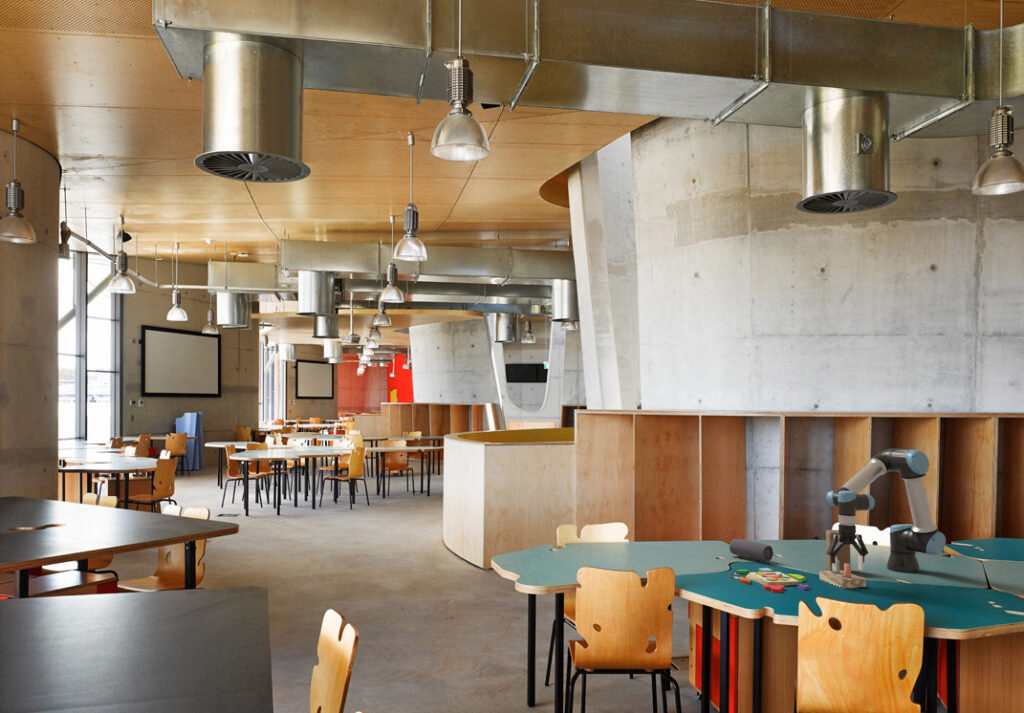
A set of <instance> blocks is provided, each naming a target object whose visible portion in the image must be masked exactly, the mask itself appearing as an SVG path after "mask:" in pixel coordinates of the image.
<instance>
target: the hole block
mask: <svg viewBox="0 0 1024 713" xmlns="http://www.w3.org/2000/svg"><path fill="white" fill-rule="evenodd" d="M818 577H819V580H820V581H823V582H825V583H827V582H828V583H827V584H829V585H832V584H833V586H835V585H836V586H835V587H837V586H839V587H838V588H840V587H842V588H843V589H859V588H858V587H866V581H867V580H866V578H864V577H861V576H858V575H855V574H853V573H851V578H844V571H842V570H840V574H833V571H829V570H820V571H819V576H818ZM842 588H841V589H842Z"/></svg>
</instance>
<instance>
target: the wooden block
mask: <svg viewBox="0 0 1024 713" xmlns="http://www.w3.org/2000/svg"><path fill="white" fill-rule="evenodd" d="M833 534H834V535H839V529H836V530H835V529H826V530H825V564H826V565H825V566H826V569H827V571H833V570H832V563H831V556H830V555H828V554H827V551H828V548H829V546H830V544H831V541H832V539H833ZM839 540H840V539H838V541H839ZM838 541H837V544H838ZM841 543H842V542H841ZM837 544H836V545H837ZM836 557H837V560H839V566H840V570H842V571H844V564H851V544H847V545H845V544H844V546H842V547H841V549H840V550H839V552H838V553H837V554H836Z"/></svg>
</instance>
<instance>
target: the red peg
mask: <svg viewBox="0 0 1024 713" xmlns="http://www.w3.org/2000/svg"><path fill="white" fill-rule="evenodd" d="M851 574H852V564H851V563H850V564H844V578H851Z"/></svg>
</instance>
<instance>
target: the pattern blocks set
mask: <svg viewBox="0 0 1024 713" xmlns="http://www.w3.org/2000/svg"><path fill="white" fill-rule="evenodd" d="M735 574H736V575H741V576H739V578H738V579H739V583H740V584H744V585H751V581H754V582H756V583H759V584H761V585H763V586H762V589H763V590H764V591H769V592H772V593H775V594H779V593H783V592H784V591H785V587H786V586H787V587H788V586H797V587H796V588H797V589H799V590H801V591H806V590H810V585H808V584H799V583H803V582H806V577H805V576H803V575H800V574H794V573H793V574H792V573H786V574H785V573H783V572H781V571H774V570H773V569H771V568H769V567H761V568H760V567H759V568H758V571H757V572H756V571H754V572H753V571H751V570H749V569H737V570H736V571H735ZM742 575H743V576H744V575H746V576H745V577H743V576H742Z"/></svg>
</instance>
